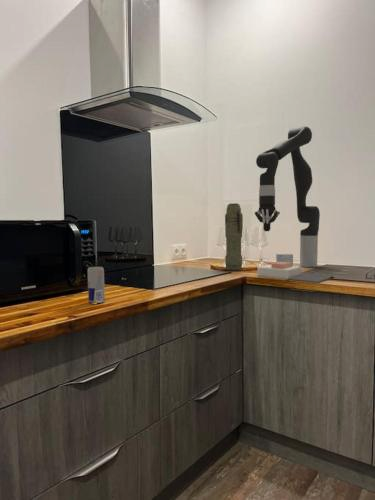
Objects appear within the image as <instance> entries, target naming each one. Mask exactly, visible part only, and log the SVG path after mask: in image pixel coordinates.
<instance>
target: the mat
mask: <svg viewBox="0 0 375 500" xmlns="http://www.w3.org/2000/svg"><path fill="white" fill-rule="evenodd" d="M331 277H334V278H335V276H334V275H328V274H326V275H325V274H315V273H313V274H312V273H307V272H306V273H302V274H301V275H297V276H294V277H291V278H288V279H287V280H288V281H296V282H304V283H305V282H307V283H313V284H315V283H316V284H319V283H323V282H326V281H328V280H330V279H329V278H331ZM327 279H328V280H327ZM331 279H332V278H331Z"/></svg>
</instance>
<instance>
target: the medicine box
mask: <svg viewBox="0 0 375 500" xmlns="http://www.w3.org/2000/svg"><path fill="white" fill-rule="evenodd" d="M275 258H276V259H275V260H276V262H291V263H292V266H294V255H293V253H276V257H275ZM276 262H275V263H276Z"/></svg>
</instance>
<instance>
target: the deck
mask: <svg viewBox="0 0 375 500" xmlns="http://www.w3.org/2000/svg"><path fill="white" fill-rule="evenodd" d="M301 274H303V267H302V266H300V265H299V266H297V265H293V266H292V267H288V268H284V269H279V268H271V264H267V265H263V266H258V267H257V274H256V275H257V276H258V277H264V278H265V277H266V278H268V277H269V278H277V279H286V280H288V278H291V277H294V276H297V275H301Z"/></svg>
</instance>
